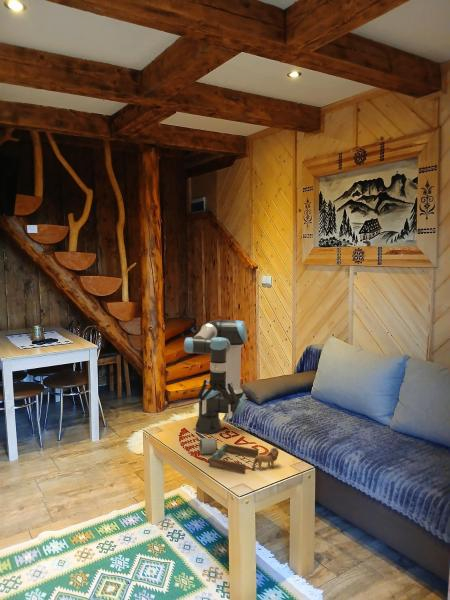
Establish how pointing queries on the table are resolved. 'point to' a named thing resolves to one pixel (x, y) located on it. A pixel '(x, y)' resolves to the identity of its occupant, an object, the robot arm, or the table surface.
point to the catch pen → (227, 465)
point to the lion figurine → (266, 458)
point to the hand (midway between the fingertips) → (217, 415)
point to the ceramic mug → (207, 446)
